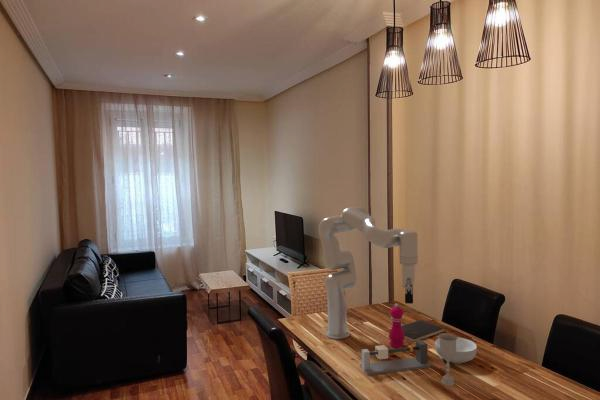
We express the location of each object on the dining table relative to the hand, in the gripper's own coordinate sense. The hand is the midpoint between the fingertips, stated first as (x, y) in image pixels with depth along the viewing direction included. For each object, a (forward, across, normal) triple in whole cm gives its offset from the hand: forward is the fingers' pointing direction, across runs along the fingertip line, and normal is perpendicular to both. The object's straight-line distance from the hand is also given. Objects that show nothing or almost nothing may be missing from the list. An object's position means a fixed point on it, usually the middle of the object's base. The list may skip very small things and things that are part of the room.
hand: (409, 299), depth 178 cm
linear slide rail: (+27, +6, -6) cm, 28 cm away
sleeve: (+22, +9, -11) cm, 26 cm away
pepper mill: (+27, -16, -6) cm, 32 cm away
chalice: (+27, +15, +14) cm, 34 cm away
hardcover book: (+28, -35, +3) cm, 45 cm away
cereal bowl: (+27, -6, +19) cm, 34 cm away
